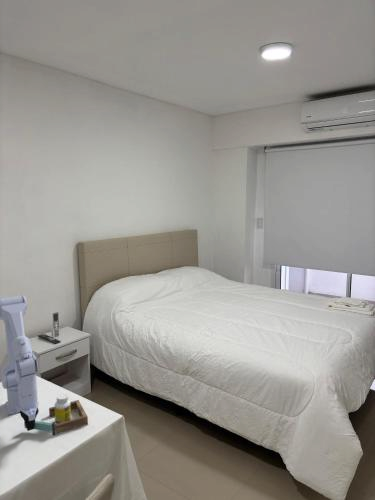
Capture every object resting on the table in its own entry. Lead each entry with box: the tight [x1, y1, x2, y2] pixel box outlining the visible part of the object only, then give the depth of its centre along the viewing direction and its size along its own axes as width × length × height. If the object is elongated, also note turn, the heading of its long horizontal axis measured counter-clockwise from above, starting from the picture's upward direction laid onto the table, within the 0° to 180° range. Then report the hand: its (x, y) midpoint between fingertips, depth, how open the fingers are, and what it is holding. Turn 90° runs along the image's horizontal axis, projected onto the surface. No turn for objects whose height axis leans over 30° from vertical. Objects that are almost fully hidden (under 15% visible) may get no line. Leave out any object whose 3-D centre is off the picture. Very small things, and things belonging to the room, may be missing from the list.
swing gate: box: [23, 420, 53, 433], centre depth 131 cm, size 10×1×3 cm, turn 79°
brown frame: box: [48, 399, 89, 436], centre depth 138 cm, size 13×12×4 cm
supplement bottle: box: [54, 393, 72, 424], centre depth 137 cm, size 5×5×10 cm
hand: (30, 429), depth 130 cm, fingers closed, pressing on swing gate
